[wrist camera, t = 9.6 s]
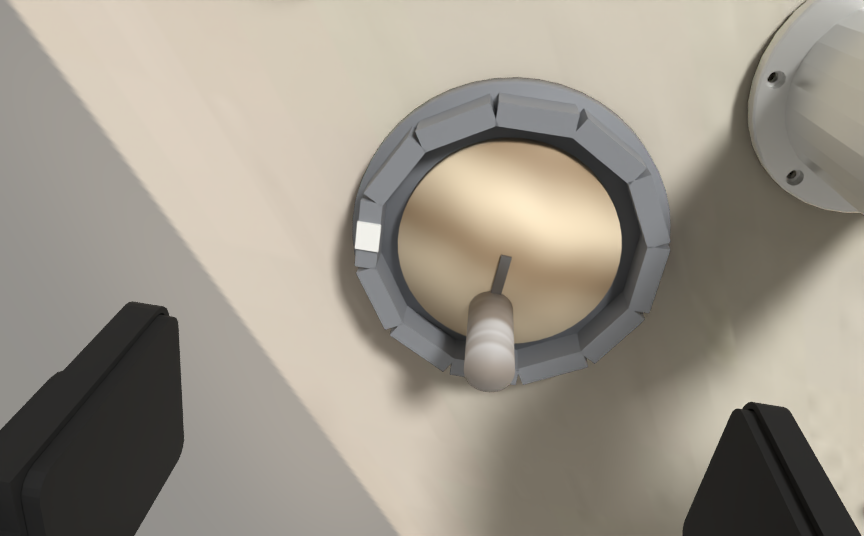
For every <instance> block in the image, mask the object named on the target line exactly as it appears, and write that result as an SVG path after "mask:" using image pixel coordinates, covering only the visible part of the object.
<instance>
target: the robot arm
mask: <svg viewBox="0 0 864 536" xmlns="http://www.w3.org/2000/svg"><path fill="white" fill-rule="evenodd" d="M773 72H775V77H774V79H772V80H771V81H768V80H767V78H768V77H769V75H770V74H771V73H773ZM748 128H749V133H750V137H751V142H752V146H753V148H754V150H755V152H756V155H757V157H758V159H759V161H760V163H761V165H762V166H763V167H764V168H765V170H766V171H767V172H768V173H769V175H770V176H771V177H772V178H773V180H774V181H775V182H776V183H777V184H778V185H779V186H781V187H782V188H783V189H784V190H785V191H786V192H788V193H790V194H791V195H793V196H794V197H796V198H798V199H799V200H801V201H802V202H804V203H807V204H810V205H813V206H816V207H818V208H821V209H824V210H831V211H837V212H843V213H861V214H862V215H864V0H807V1H806V2H805V3H804V4H803V5H801V6H800V7H799V8H798V9H797V10H796V11H794V13H793V14H792V15H791V16H790V17H789V18H788V20H787V21H786V22H785V23H784V24H783V25H782V27H781V28H780V29H779V30H778V31H777V33H776V34H775V36H774V37H773V39H772V41H771V42H770V44H769V45H768V47H767V49H766V50H765V52H764V54H763V55H762V57H761V60H760V62H759V65H758V67H757V70H756V72H755V75H754V77H753V80H752V85H751V90H750V95H749V100H748ZM791 171H793V173H792V174H791V175H790V176H787V175H788V174H789V173H790V172H791ZM179 350H180V349H179V329H178V321H177V319H176V318H175V317H170V316H169V313H168V310H167V308H165V307H163V306H157V305H151V304H144V303H138V302H129V303H127V304H126V305H125V306H124V307H123V308H122V309H121V310H120V311H119V312H118V313H117V314H116V315H115V316H114V318H113V319H112V320H111V321H110V322H109V323H108V324H107V325H106V326H105V327H104V328H103V329H102V330H101V331H100V332H99V333H98V334H97V335H96V337H95V338H94V339H93V340H92V341H91V342H90V343H89V344H88V345H87V346H86V347H85V348H84V349H83V350H82V351H81V352H80V353H79V355H78V356H77V357H76V358H75V359H74V360H73V361H72V362H71V363H70V364H69V365H68V366H67V367H66V368H65V369H64V370H63V371H61V372H57V373H56V374H55V375H54V376H52V377H51V378H50V379H49V380H48V381H47V382H46V383H45V384H44V385H43V386H42V387H41V388H40V389H39V390H38V391H37V392H36V393H35V394H34V395H33V397H32V398H31V399H30V400H29V401H28V402H27V403H26V404H25V405H24V406H23V407H22V408H21V409H20V410H19V411H18V412H17V413H16V414H15V415H14V416H13V417H12V419H11V420H10V421H9V422H8V423H7V424H6V425H5V426H4V427H3V428H2V429H1V430H0V536H134V535H135V533H136V532H137V530H138V528H139V527H140V524H141V523H142V522H143V520H144V518H145V516H146V515H147V513H148V511H149V510H150V508H151V506H152V504H153V503H154V501H155V499H156V497H157V496H158V494H159V492H160V491H161V489H162V487H163V486H164V484H165V482H166V480H167V479H168V477H169V475H170V473H171V471H172V470H173V468H174V467H175V465H176V463H177V461H178V460H179V457H180V455H181V452H182V448H183V442H184V431H183V409H182V390H181V370H180V351H179ZM683 536H861V534H860V533H859V531H858V529H857V527H856V526H855V524H854V522H853V520H852V519H851V517H850V515H849V513H848V512H847V510H846V508H845V506H844V505H843V503H842V501H841V499H840V498H839V496H838V494H837V492H836V491H835V489H834V487H833V485H832V484H831V482H830V480H829V478H828V477H827V475H826V473H825V471H824V470H823V468H822V466H821V464H820V463H819V461H818V459H817V457H816V456H815V454H814V452H813V450H812V449H811V447H810V445H809V443H808V442H807V440H806V438H805V436H804V435H803V433H802V431H801V429H800V428H799V426H798V424H797V423H796V421H795V419H794V417H793V416H792V414H791V412H790V411H789V410H788V409H787V408H784V407H780V406H773V405H767V404H761V403H755V402H749V403H747V404H746V405H745V406H744V407H743V409H735V410H734V411H733V412H732V414H731V415H730V418H729V420H728V422H727V425H726V427H725V429H724V432H723V434H722V436H721V438H720V441H719V443H718V445H717V448H716V450H715V452H714V455H713V457H712V459H711V461H710V464H709V466H708V468H707V471H706V473H705V475H704V478H703V480H702V482H701V484H700V487H699V489H698V491H697V494H696V496H695V498H694V500H693V503H692V505H691V507H690V510H689V512H688V514H687V517H686V519H685V522H684V525H683Z"/></svg>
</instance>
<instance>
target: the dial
mask: <svg viewBox="0 0 864 536" xmlns="http://www.w3.org/2000/svg"><path fill="white" fill-rule="evenodd" d="M621 250H622V236H621V229H620V222H619V219H618V216H617V213H616V210H615V207H614V204H613V202H612V200H611V198H610V196H609V194H608V191H607V190H606V188H605V187H604V185H603V184H602V182H601V181H600V179H599V178H598V177H597V176H596V175H595V174H594V172H593V171H592V170H591V169H590V168H589V167H588V166H586V165H585V164H584V163H583V162H582V161H580V160H579V159H578V158H576V157H575V156H573V155H571V154H570V153H568V152H566V151H565V150H562V149H560V148H558V147H556V146H553V145H551V144H547V143H544V142H541V141H537V140H531V139H525V138H497V139H489V140H485V141H481V142H476V143H473V144H471V145H468V146H465V147H463V148H460V149H459V150H457V151H455V152H453V153H451V154H449V155H448V156H446V157H445V158H443V159H442V160H440V161H439V162H438V163H436V164H435V165H434V166H433V167H432V168H431V169H430V170H429V171H428V172H427V173H426V174H425V175H424V176H423V177H422V179H421V180H420V181H419V182H418V183H417V185H416V187H415V188H414V190H413V192H412V193H411V195H410V197H409V199H408V202H407V204H406V206H405V209H404V212H403V216H402V219H401V223H400V227H399V234H398V255H399V261H400V266H401V270H402V273H403V276H404V279H405V281H406V283H407V285H408V287H409V289H410V291H411V292H412V294H413V295H414V297H415V298H416V300H417V301H418V302H419V303H420V305H421V306H422V307H423V308H424V309H425V310H426V311H427V312H428V313H429V314H430V315H431V316H432V317H434V318H435V319H436V320H437V321H439V322H440V323H442V324H443V325H445V326H446V327H448V328H450V329H452V330H453V331H455V332H457V333H460V334H462V335H465V336H466V348H465V360H464V376H465V378H466V380H467V382H468V383H469V384H470V385H471V386H473V387H474V388H476V389H478V390H481V391H485V392H495V391H499V390H502V389H504V388H506V387H507V386H508V385H509V384H510V383H511V382H512V380H513V378H514V375H515V356H514V344H515V343H526V342H532V341H537V340H541V339H544V338H548V337H551V336H553V335H556V334H558V333H560V332H563V331H564V330H566V329H568V328H570V327H572V326H574V325H575V324H576V323H578V322H579V321H581V320H582V319H583V318H585V317H586V316H587V315H588V314H589V313H590V312H591V311H592V310H593V309H595V307H596V306H597V305H598V304H599V303H600V301H601V300H602V299H603V298H604V296H605V295H606V293H607V291H608V290H609V288H610V287H611V284H612V282H613V280H614V278H615V276H616V273H617V269H618V266H619V263H620V256H621Z"/></svg>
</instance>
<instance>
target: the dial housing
mask: <svg viewBox="0 0 864 536" xmlns="http://www.w3.org/2000/svg"><path fill="white" fill-rule="evenodd" d="M497 138H525V139H531V140H537V141H541V142H544V143H547V144H551V145H553V146H556V147H558V148H560V149H562V150H565V151H566V152H568V153H570V154H571V155H573V156H575V157H576V158H578V159H579V160H580V161H582V162H583V163H584V164H585V165H586V166H588V167H589V168H590V169H591V170H592V171H593V172H594V174H595V175H596V176H597V177H598V178H599V179H600V181H601V182H602V184H603V185H604V187H605V188H606V190H607V191H608V194H609V196H610V198H611V200H612V202H613V204H614V207H615V210H616V213H617V216H618V219H619V222H620V229H621V236H622V250H621V256H620V263H619V266H618V269H617V273H616V276H615V278H614V280H613V282H612V284H611V287H610V288H609V290H608V291H607V293H606V295H605V296H604V298H603V299H602V300H601V301H600V303H599V304H598V305H597V306H596V307H595V309H593V310H592V311H591V312H590V313H589V314H588V315H587V316H586V317H585V318H583V319H582V320H581V321H579V322H578V323H576V324H575V325H574V326H572V327H570V328H568V329H566V330H564V331H563V332H560V333H558V334H556V335H553V336H551V337H548V338H544V339H541V340H537V341H532V342H526V343H515V344H514V356H515V375H514V378H513V380H512V382H511V383H510V384H511V385H516V380H517V376H518V374H519V376H520V379H521V381H522V384H523V385H524V384H528V383H531V382H535V381H539V380H543V379H546V378H550V377H554V376H557V375H561V374H565V373H569V372H572V371H576V370H580V369H583V368H587V367H588V365H587V360H586V358H588V359H589V360H590V361H592V362H593V363H594V364H595V363H596V362H597V361H598V360H600V359H601V358H602V357H603V356H604V355H605V354H606V353H608V352H609V351H610V350H611V349H612V348H613V347H614V346H616V345H617V344H618V343H619V342H620V341H621V340H622V339H624V338H625V337H626V336H627V335H628V334H629V333H630V332H631V331H633V330H634V329H635V328H636V327H637V326H638V325H639V324H641V323H642V322H643V321H644V320H645V318H644V315H643V312H644V313H650V310H651V307H652V304H653V301H654V298H655V295H656V292H657V289H658V286H659V283H660V280H661V277H662V274H663V271H664V268H665V265H666V262H667V259H668V256H669V253H670V248H669V243H670V242H671V241H670V230H671V229H670V209H669V204H668V199H667V194H666V190H665V187H664V185H663V182H662V179H661V176H660V173H659V171H658V169H657V168H656V166H655V164H654V162H653V160H652V158H651V156H650V155H649V153H648V151H647V150H646V148H645V146H644V145H643V143H642V142H641V141H640V139H639V138H638V137H637V135H636V134H635V133H634V131H633V130H632V129H631V128H630V127H629V126H628V125H627V124H626V123H625V122H624V121H623V120H622V119H621V118H620V117H619V116H618V115H617V114H615V113H614V112H613V111H611V110H610V109H609V108H607V107H606V106H605V105H603V104H602V103H601V102H599V101H597V100H595V99H593V98H591V97H590V96H588V95H586V94H584V93H582V92H580V91H577V90H575V89H572V88H569V87H567V86H564V85H561V84H557V83H553V82H549V81H544V80H540V79H530V78H518V77H513V78H493V79H488V80H482V81H476V82H472V83H468V84H465V85H462V86H459V87H456V88H453V89H450V90H448V91H446V92H444V93H442V94H440V95H437V96H435V97H433V98H431V99H430V100H428V101H427V102H425V103H424V104H422V105H420V106H419V107H417V108H416V109H414V110H413V111H412V112H411V113H410V114H408V115H407V116H406V117H405V118H404V119H403V120H401V121H400V122H399V123H398V124H397V125H396V126H395V128H394V129H393V130H392V131H391V132H390V133H389V134H388V136H387V137H386V138H385V139H384V141H383V142H382V144H381V145H380V147H379V148H378V150H377V151H376V153H375V154H374V156H373V158H372V160H371V162H370V164H369V166H368V168H367V170H366V172H365V175H364V177H363V179H362V181H361V184H360V187H359V190H358V194H357V197H356V201H355V207H354V214H353V244H354V252H355V266H358V270H357V272H356V274H357V276H358V278H359V280H360V282H361V284H362V286H363V288H364V290H365V292H366V294H367V296H368V298H369V300H370V301H371V303H372V305H373V307H374V309H375V311H376V313H377V315H378V317H379V319H380V321H381V323H382V325H383V327H384V329H385V330H386V329H389V328H391V332H390V336H392V337H393V338H395V339H396V340H398V341H399V342H400V343H402V344H403V345H405V346H406V347H408V348H409V349H411V350H412V351H414V352H415V353H416V354H418V355H419V356H421V357H422V358H424V359H425V360H427V361H428V362H430V363H431V364H432V365H434V366H435V367H437V368H438V369H440V370H441V371H444V370H445V369H446V368H447V367H448V366H449V365H450V364H451V369H450V375H456V376H462V377H465V376H464V360H465V348H466V336H465V335H462V334H460V333H457V332H455V331H453V330H452V329H450V328H448V327H446V326H445V325H443V324H442V323H440V322H439V321H437V320H436V319H435V318H434V317H432V316H431V315H430V314H429V313H428V312H427V311H426V310H425V309H424V308H423V307H422V306H421V305H420V303H419V302H418V301H417V300H416V298H415V297H414V295H413V294H412V292H411V291H410V289H409V287H408V285H407V283H406V281H405V279H404V276H403V273H402V270H401V266H400V261H399V255H398V234H399V227H400V223H401V219H402V216H403V212H404V209H405V206H406V204H407V202H408V199H409V197H410V195H411V193H412V192H413V190H414V188H415V187H416V185H417V183H418V182H419V181H420V180H421V179H422V177H423V176H424V175H425V174H426V173H427V172H428V171H429V170H430V169H431V168H432V167H433V166H434V165H435V164H436V163H438V162H439V161H440V160H442V159H443V158H445V157H446V156H448V155H449V154H451V153H453V152H455V151H457V150H459V149H460V148H463V147H465V146H468V145H471V144H473V143H476V142H481V141H485V140H489V139H497Z"/></svg>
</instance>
